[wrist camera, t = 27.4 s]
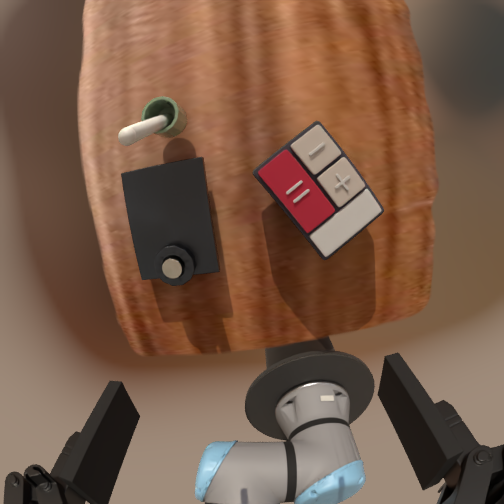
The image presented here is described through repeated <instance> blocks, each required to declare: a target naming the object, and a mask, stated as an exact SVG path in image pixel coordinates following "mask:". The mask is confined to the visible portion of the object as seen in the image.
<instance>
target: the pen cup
mask: <svg viewBox="0 0 504 504" xmlns="http://www.w3.org/2000/svg"><path fill="white" fill-rule="evenodd" d="M166 113H170V114H172V115H173V117H174V120H173V122H172V123H171V125H170V126H167V127H165V128H163V129H161V130H159V131H157V132H155V133H154V134H156V135H159V136H163V137H167V138H171V137H175V136H177V135H179V134H180V133H181V132H182V131H183V130H184V128H185V126H186V124H187V115H186V113H185V111H184V110H183V109H182V108H181V107H180V106H179V105H178V104H177V103H176V102H174V101H173V100H172V99H171V98H168V97H163V96H162V97H158V98H154V99H152V100H151V101H150V102H149V103H147V104H146V106H145V108H144V109H143V111H142V118H141V120H142V121H145V120H147V119H150V118H153V117H157V116H160V115H163V114H166Z"/></svg>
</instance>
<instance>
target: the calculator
mask: <svg viewBox="0 0 504 504" xmlns="http://www.w3.org/2000/svg"><path fill="white" fill-rule="evenodd" d="M253 175H254V176H255V177H256V179H257V180H258V181H259V182H260V183H261V184H262V186H263V187H264V188H265V189H266V190H267V191H268V193H269V194H270V195H271V196H272V197H273V199H274V200H275V201H276V202H277V203H278V205H279V206H280V207H281V208H282V209H283V211H284V212H285V213H286V214H287V216H288V217H289V218H290V219H291V220H292V222H293V223H294V224H295V225H296V227H297V228H298V229H299V230H300V232H301V233H302V234H303V235H304V237H305V238H306V239H307V240H308V242H309V243H310V244H311V245H312V247H313V248H314V249H315V250H316V252H317V253H318V254H319V256H320V257H321V258H322V259H323V260H327V259H328V258H329V257H331V256H332V255H333V254H334V253H336V252H337V251H338V250H339V249H341V248H342V247H343V246H344V245H345V244H347V243H348V242H349V241H350V240H352V239H353V238H354V237H355V236H356V235H358V234H359V233H360V232H361V231H362V230H364V229H365V228H366V227H367V226H368V225H369V224H371V223H372V222H373V221H374V220H375V219H376V218H378V217H379V216H380V215H381V214H382V213H383V212H384V209H383V207H382V205H381V204H380V202H379V201H378V199H377V198H376V196H375V195H374V193H373V192H372V190H371V189H370V187H369V186H368V184H367V183H366V181H365V180H364V179H363V177H362V176H361V174H360V173H359V172H358V170H357V169H356V167H355V166H354V165H353V163H352V162H351V161H350V159H349V158H348V157H347V155H346V154H345V153H344V151H343V150H342V149H341V147H340V146H339V145H338V144H337V142H336V141H335V140H334V139H333V137H332V136H331V135H330V134H329V132H328V131H327V130H326V129H325V127H324V126H323V125H322V124H321V123H320V122H319V121H315V122H314V123H313V124H311V125H310V126H309V127H307V128H306V129H305V130H303V131H302V132H301V133H299V134H298V135H297V136H296V137H294V138H293V139H292V140H290V141H289V142H288V143H287V144H285V145H284V146H283V147H281V148H280V149H279V150H278V151H276V152H275V153H274V154H273V155H271V156H270V157H269V158H268V159H267V160H265V161H264V162H263V163H262V164H260V165H259V166H258V167H257V168H256V169H254V170H253Z"/></svg>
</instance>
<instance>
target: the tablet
mask: <svg viewBox="0 0 504 504" xmlns="http://www.w3.org/2000/svg"><path fill="white" fill-rule="evenodd" d="M121 176H122V183H123V190H124V196H125V202H126V208H127V213H128V219H129V224H130V229H131V234H132V239H133V244H134V248H135V253H136V257H137V261H138V266H139V270H140V274H141V278H142V280H148V279H157V278H160V279H161V280H162V281H163V282H165V283H167V284H170V285H172V286H177V285H184V284H185V283H186V282H188V281H189V280H190V279H191V278H192V276H193V275H195V274H204V273H213V272H219V271H220V265H219V259H218V253H217V247H216V241H215V234H214V228H213V221H212V215H211V208H210V201H209V194H208V187H207V180H206V173H205V165H204V158H203V157H198V158H193V159H187V160H181V161H176V162H171V163H166V164H161V165H156V166H152V167H147V168H143V169H138V170H134V171H130V172H126V173H122V174H121ZM171 256H176V257H178V258H180V259H181V260H182V262H183V264H184V269H183V271H182V273H181V275H180V276H179V277H177V278H169V277H167V276H166V275H165V274H164V273H163V270H162V265H163V263H164V262H165V261H166V259H167V258H169V257H171Z"/></svg>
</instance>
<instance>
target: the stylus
mask: <svg viewBox="0 0 504 504" xmlns="http://www.w3.org/2000/svg"><path fill="white" fill-rule="evenodd" d="M173 120H174V117H173V115H172V114H170V113H166V114H163V115H160V116H157V117H153V118H150V119H147V120H145V121H142V122H139V123H136V124H133V125H130V126H128V127H125V128H123V129H122V130H121V131H120V132H119V135H118V139H119V142H120V143H121V144H122V145H125V146H129V145H132V144H133V143H135V142H137V141H139V140H141V139H143V138H145V137H147V136H149V135H151V134H153V133H155V132H157V131H159V130H161V129H163V128H165V127H167V126H170V125H171V123H172V122H173Z"/></svg>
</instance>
